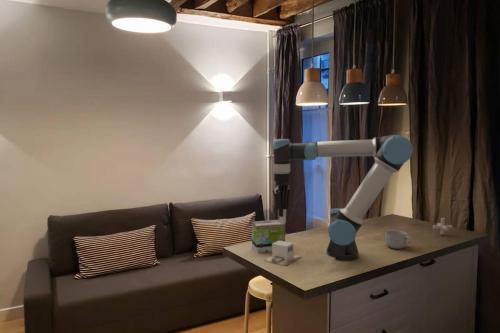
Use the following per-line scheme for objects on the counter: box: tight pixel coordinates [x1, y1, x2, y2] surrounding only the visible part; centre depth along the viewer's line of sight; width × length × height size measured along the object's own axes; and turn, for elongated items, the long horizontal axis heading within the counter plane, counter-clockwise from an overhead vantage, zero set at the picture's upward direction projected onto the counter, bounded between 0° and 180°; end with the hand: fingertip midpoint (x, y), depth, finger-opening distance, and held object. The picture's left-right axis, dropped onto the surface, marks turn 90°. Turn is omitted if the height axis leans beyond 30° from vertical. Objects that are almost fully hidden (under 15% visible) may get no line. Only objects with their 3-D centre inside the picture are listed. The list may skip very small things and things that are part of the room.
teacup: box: [384, 229, 412, 250], centre depth 198 cm, size 14×11×8 cm
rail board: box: [263, 251, 302, 267], centre depth 182 cm, size 12×14×3 cm
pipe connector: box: [432, 217, 453, 235], centre depth 218 cm, size 10×10×10 cm
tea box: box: [251, 219, 286, 254], centre depth 198 cm, size 15×10×15 cm
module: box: [271, 241, 294, 261], centre depth 182 cm, size 8×6×7 cm
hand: (282, 223), depth 181 cm, fingers closed
